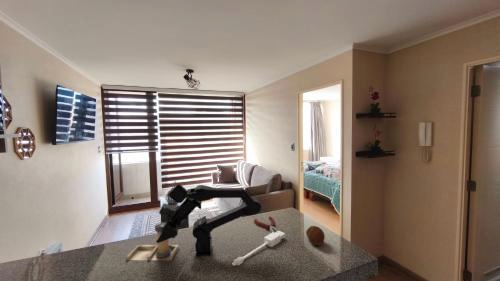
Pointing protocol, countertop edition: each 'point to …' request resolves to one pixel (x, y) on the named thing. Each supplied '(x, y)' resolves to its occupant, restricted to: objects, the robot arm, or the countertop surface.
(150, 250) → the divided tray
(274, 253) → the countertop surface
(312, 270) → the countertop surface
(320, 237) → the potato
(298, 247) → the countertop surface
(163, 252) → the bobbin
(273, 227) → the pliers
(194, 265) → the countertop surface
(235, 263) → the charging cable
